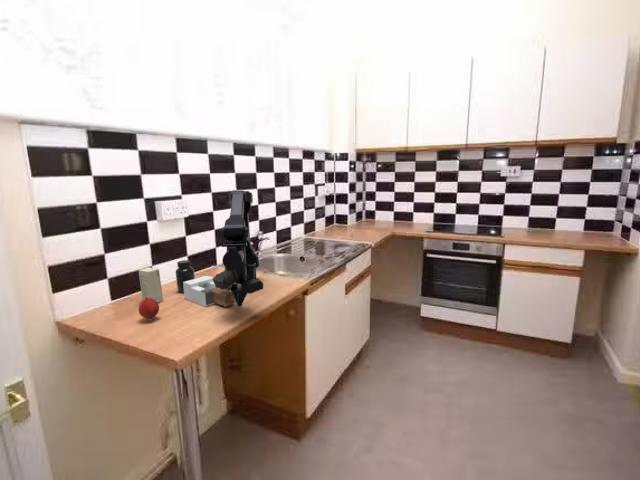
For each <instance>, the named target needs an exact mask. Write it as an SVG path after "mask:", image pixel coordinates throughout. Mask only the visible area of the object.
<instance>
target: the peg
mask: <svg viewBox="0 0 640 480" xmlns="http://www.w3.org/2000/svg"><path fill="white" fill-rule="evenodd" d="M211 291H212V294H213V302H214V303H215V304H217V305H220V306H222V307H224V308H227V307H228V306H232V305H234V304H236V301H235V298H234V296H233V294H232V292H231V291H228V290H225V289H224V290H222V289H220V288H216V287H215V288H212V289H211Z"/></svg>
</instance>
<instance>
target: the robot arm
mask: <svg viewBox="0 0 640 480" xmlns="http://www.w3.org/2000/svg"><path fill="white" fill-rule="evenodd" d="M253 196H254V195H253V193H252V192H250V191H249V190H244V189H242V190H233V191H230V192H229V193H228V199H229V200H228V201H229V204H230V214H229V217H228V218H226V220H225V221H224V226H223V227H222V229H221V231H222V232H221V248H226V252H225V254H224V255H223V256H222V265H223V266H224V270H223V271H221V272H219V273H217V274H216V275H215V276H214V277H213V279H212V280H213V282H214V284H215V286H216V288H220V289H222V290H224V289H226V288H227V289H229V290H230V291H231V292H232V294H233V296H234V298H235V304H236V305H237V307H240V308H241V307H242V306H243V303H244V302H245V299H246V297H247V294H253V293H256V292H259V291H261V290H263V289H264V282H263V281H262V280H260V278H258V277H257V268H258V267H260V259H259V256H258V254H257V253H256V249H255V247H254V245H252V243H251V231H250V218H249V213H250V211H251V208H252V204H254V200H253V199H254V197H253Z"/></svg>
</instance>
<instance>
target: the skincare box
mask: <svg viewBox="0 0 640 480" xmlns="http://www.w3.org/2000/svg"><path fill="white" fill-rule="evenodd" d="M160 274H161V273H160V269H159V268H154V267H145V268H142V269H138V277H139V283H140V285H139V286H140V290H141V298H142V301H143V300H144V299H145V298H146V297H147V296H149V297H150V298H152V299H154V300H155V301H156V302H157V303H158V304H159V303H161V302H164V297H163V296H164V295H163V290H162V289H163V288H162V281H161V275H160Z"/></svg>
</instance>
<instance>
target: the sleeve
mask: <svg viewBox="0 0 640 480" xmlns="http://www.w3.org/2000/svg"><path fill="white" fill-rule="evenodd" d="M213 278H214V277H213V276H210V275H209V276H208V275H204V276H201V277H200V276H199V277H197V278H196V277H195V279H193V280H189V281H185V282H183V287H184V293H183V295H184V297H183V298H184V299H187V300H189V301H191V302H193V303H196V304H199V305H201V306H204V307H209V306H213V305H216V303H214V302H213V294H212V291H211V289H212V288H215V287H216V286H215V284H214V282H213V280H212V279H213ZM225 290H228V291H230V290H229V289H227V288H226V289H225Z"/></svg>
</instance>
